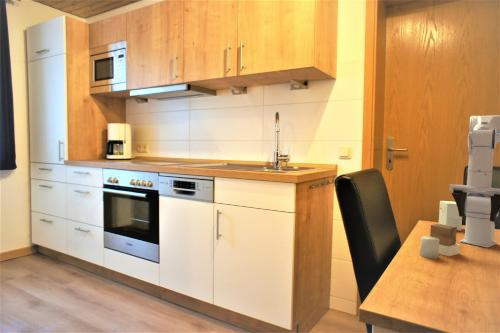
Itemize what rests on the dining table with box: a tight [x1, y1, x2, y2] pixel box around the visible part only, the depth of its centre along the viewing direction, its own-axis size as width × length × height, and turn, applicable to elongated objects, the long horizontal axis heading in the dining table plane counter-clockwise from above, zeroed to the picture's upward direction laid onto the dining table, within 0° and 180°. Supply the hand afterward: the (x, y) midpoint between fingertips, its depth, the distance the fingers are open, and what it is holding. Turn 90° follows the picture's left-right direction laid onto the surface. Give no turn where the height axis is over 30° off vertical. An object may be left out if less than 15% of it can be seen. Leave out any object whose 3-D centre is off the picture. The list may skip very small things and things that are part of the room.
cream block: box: [439, 243, 461, 257], centre depth 95 cm, size 6×6×3 cm
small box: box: [438, 200, 463, 232], centre depth 130 cm, size 8×6×10 cm
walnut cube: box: [429, 223, 458, 246], centre depth 95 cm, size 5×5×5 cm
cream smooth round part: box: [419, 235, 440, 260], centre depth 91 cm, size 4×4×5 cm
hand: (476, 218), depth 94 cm, fingers open, 7 cm apart
